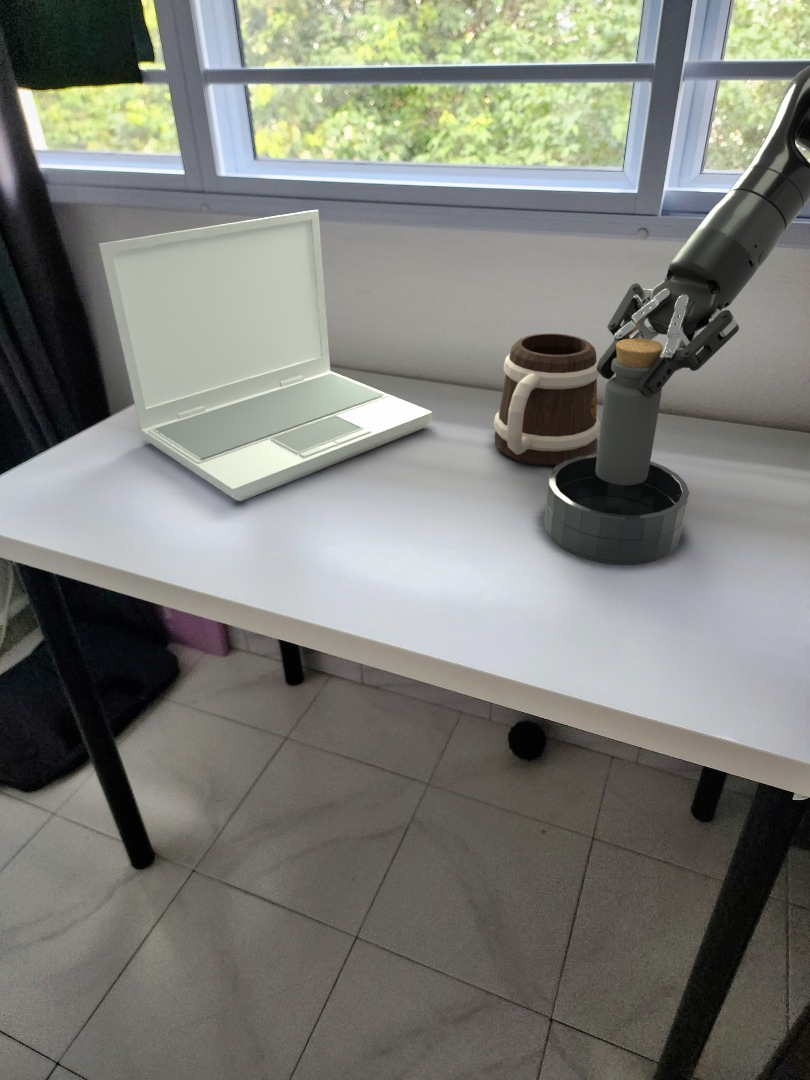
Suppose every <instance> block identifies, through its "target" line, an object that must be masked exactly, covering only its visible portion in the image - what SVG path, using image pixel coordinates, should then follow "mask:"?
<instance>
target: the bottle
mask: <svg viewBox="0 0 810 1080" xmlns="http://www.w3.org/2000/svg"><path fill="white" fill-rule="evenodd" d="M616 350H617V357H616V358H614V359H613V361H612V367H611V369H612V371H613V372H614V373H615V376H613V377H612V378H611V379H608V381H607V382H606V384H605V389H604V395H603V403H602V411H601V418H600V432H599V434H598V441H597V452H596V454H597V460H596V470H595V471H596V475H597V476H598V477H599V478H600V479H602V480H604V481H606V482H609V483H612V484H616V485H635V484H639V483H642V482H643V481H645V480H646V478H647V476H648V471H649V466H650V461H651V458H652V454H653V448H654V442H655V435H656V429H657V423H658V419H659V418H658V417H659V411H660V405H661V398H662V391H663V388H662V389H661V390H660V391H659V392H657V393H656V394H653V396H652V397H650V398H648V397H646V396H643V395H642V394H641V392H640V391H639V390H638V389H637V384H638V382H639V381H640V380H641V378H642V377H643V376H644V374H645V373H646V372H647V371H648V369H649V368H650V367H651V366H652V364H653V363H654V362H655V360H656V359H657V358H658V357H661V355H662V353H663V351H664V345H663V344H662V343H661V342H659V341H656V340H653V339H652V340H649V339H640V338H632V339H624V340H621V341H619V342H617V344H616Z"/></svg>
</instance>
